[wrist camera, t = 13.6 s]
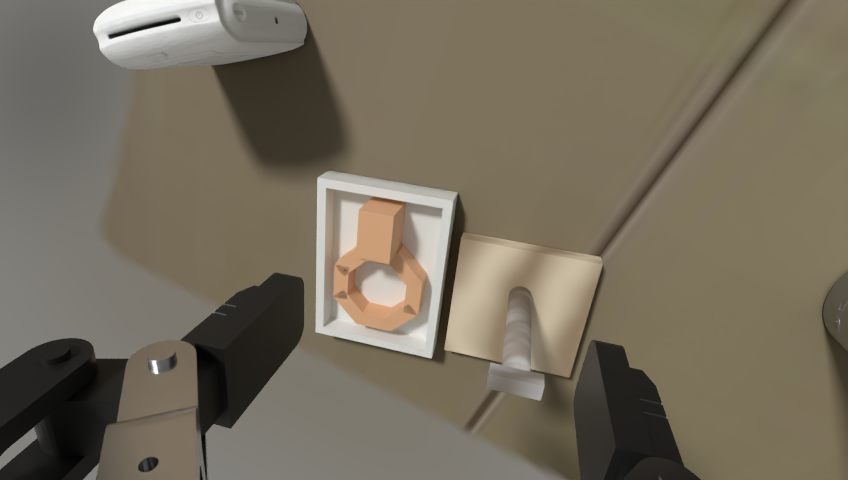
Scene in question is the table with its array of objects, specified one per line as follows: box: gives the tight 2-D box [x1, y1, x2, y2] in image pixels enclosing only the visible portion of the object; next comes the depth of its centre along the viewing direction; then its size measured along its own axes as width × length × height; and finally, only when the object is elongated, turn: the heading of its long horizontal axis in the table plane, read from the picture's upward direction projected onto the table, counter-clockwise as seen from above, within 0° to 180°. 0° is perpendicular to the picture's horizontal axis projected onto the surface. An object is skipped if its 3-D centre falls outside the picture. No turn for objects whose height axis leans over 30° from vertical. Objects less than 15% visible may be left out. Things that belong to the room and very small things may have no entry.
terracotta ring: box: [333, 196, 427, 331], centre depth 42 cm, size 8×13×4 cm
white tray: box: [316, 171, 458, 359], centre depth 44 cm, size 12×16×2 cm
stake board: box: [444, 232, 603, 401], centre depth 37 cm, size 12×12×14 cm
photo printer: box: [93, 0, 307, 70], centre depth 34 cm, size 10×4×12 cm, turn 100°
